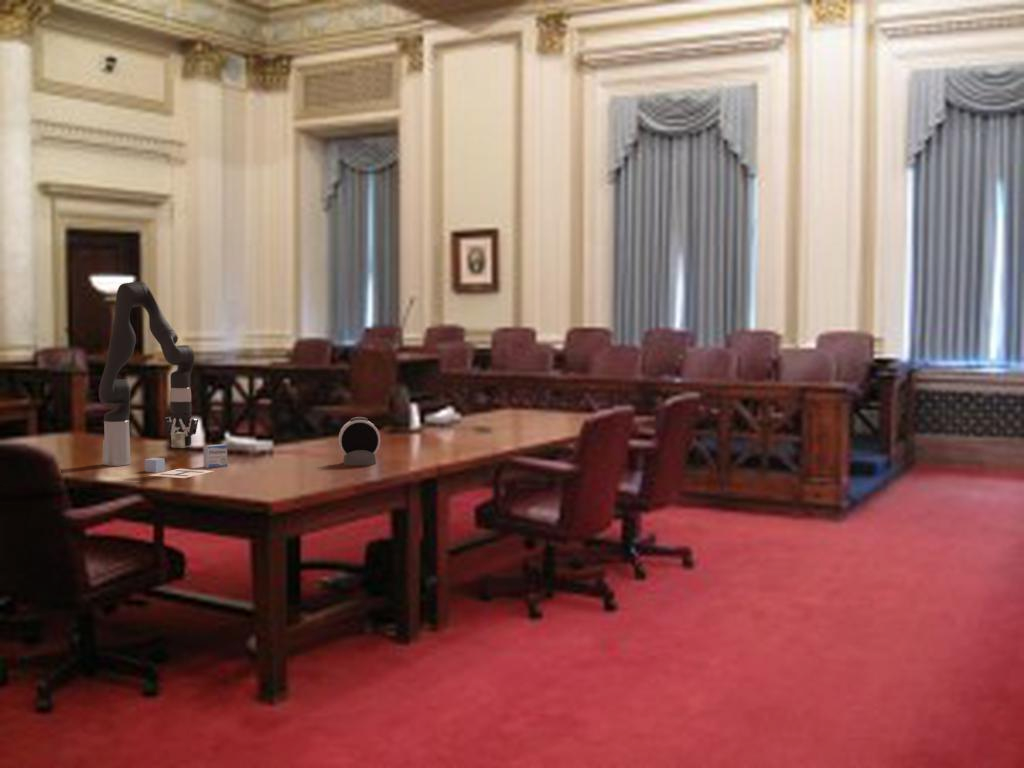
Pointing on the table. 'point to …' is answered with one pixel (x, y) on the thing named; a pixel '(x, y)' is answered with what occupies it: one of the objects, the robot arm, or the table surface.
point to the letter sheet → (181, 473)
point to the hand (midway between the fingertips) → (181, 445)
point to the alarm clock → (359, 442)
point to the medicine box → (215, 456)
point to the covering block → (178, 440)
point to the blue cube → (154, 464)
